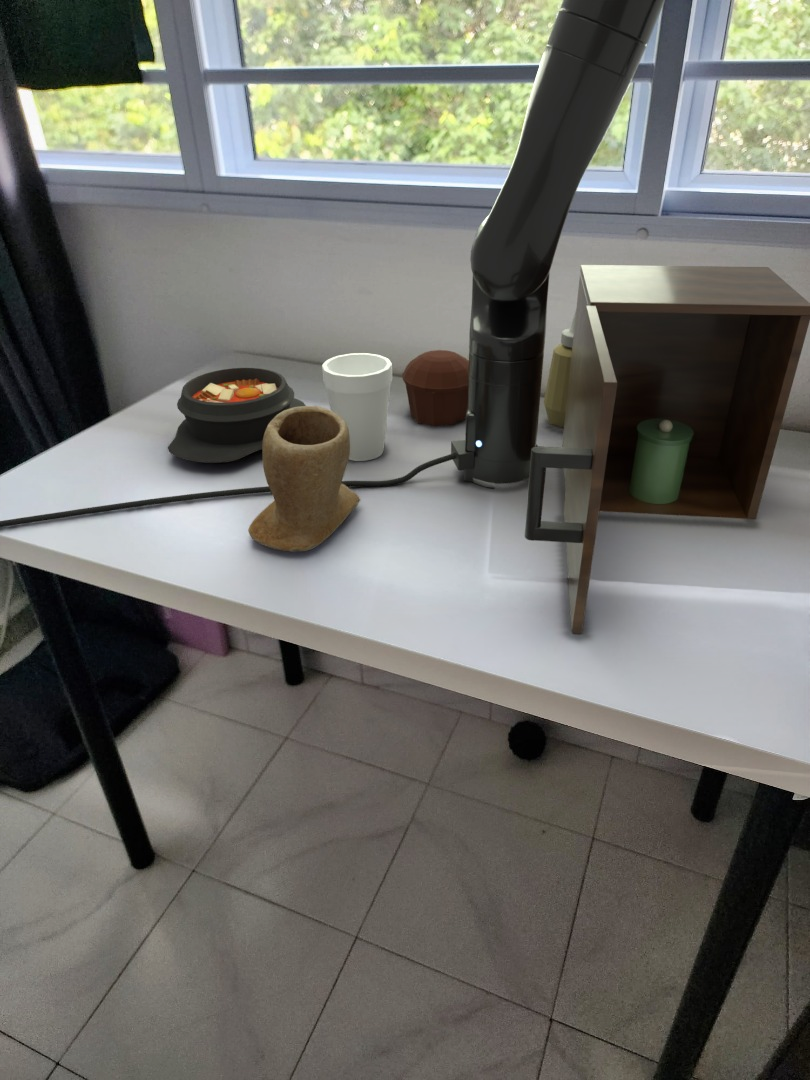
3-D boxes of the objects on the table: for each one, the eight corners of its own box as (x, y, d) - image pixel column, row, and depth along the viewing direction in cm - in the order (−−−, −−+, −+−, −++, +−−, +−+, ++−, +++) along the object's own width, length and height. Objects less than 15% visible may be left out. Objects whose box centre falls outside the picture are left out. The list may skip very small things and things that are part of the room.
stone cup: (324, 570, 83) (312, 448, 75) (236, 546, 88) (217, 428, 80) (385, 507, 95) (381, 395, 87) (305, 489, 99) (294, 381, 91)
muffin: (395, 426, 115) (393, 364, 110) (410, 399, 125) (409, 340, 119) (471, 432, 113) (473, 368, 108) (481, 404, 122) (483, 344, 117)
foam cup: (404, 444, 110) (403, 358, 103) (376, 470, 103) (372, 380, 96) (348, 433, 114) (342, 349, 107) (317, 458, 107) (309, 370, 100)
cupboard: (753, 526, 89) (814, 306, 75) (566, 516, 92) (590, 302, 78) (722, 462, 103) (768, 266, 89) (561, 455, 106) (580, 264, 92)
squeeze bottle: (603, 421, 116) (618, 303, 106) (583, 440, 110) (598, 318, 100) (554, 411, 119) (565, 296, 110) (533, 429, 114) (542, 309, 104)
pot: (629, 503, 92) (641, 430, 87) (624, 478, 98) (635, 408, 93) (685, 506, 92) (700, 432, 86) (676, 481, 97) (690, 410, 92)
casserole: (252, 484, 101) (243, 426, 96) (138, 463, 106) (125, 408, 102) (333, 414, 120) (329, 363, 116) (234, 399, 126) (226, 351, 121)
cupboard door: (517, 629, 74) (537, 380, 60) (519, 515, 92) (535, 304, 78) (582, 634, 73) (617, 382, 59) (570, 518, 91) (596, 305, 77)
